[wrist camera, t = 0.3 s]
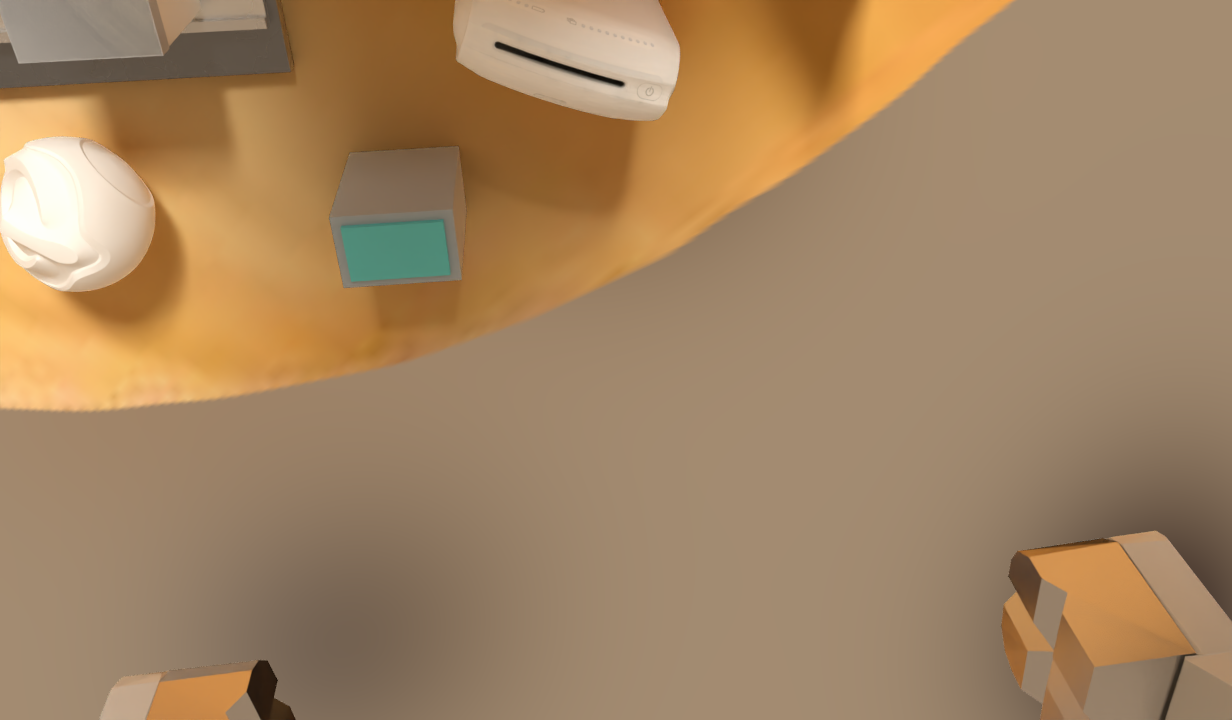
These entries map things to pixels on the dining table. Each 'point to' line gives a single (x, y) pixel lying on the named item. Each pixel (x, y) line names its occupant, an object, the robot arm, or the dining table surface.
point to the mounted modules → (94, 28)
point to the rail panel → (176, 50)
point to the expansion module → (400, 217)
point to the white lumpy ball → (74, 213)
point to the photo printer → (574, 52)
